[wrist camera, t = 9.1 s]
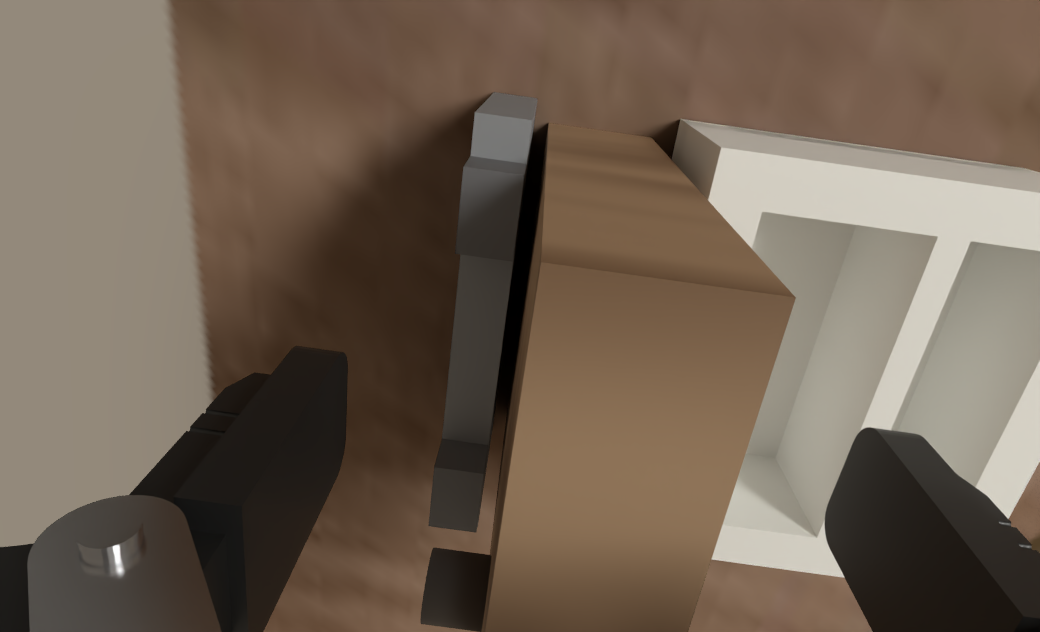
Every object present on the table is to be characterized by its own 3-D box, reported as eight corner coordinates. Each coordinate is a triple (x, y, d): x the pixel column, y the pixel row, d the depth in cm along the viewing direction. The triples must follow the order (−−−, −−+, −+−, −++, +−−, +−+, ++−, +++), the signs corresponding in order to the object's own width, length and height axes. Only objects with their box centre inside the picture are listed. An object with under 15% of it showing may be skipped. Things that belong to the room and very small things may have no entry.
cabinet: (494, 92, 15) (468, 119, 10) (1024, 168, 15) (1228, 228, 11) (457, 424, 19) (425, 553, 14) (886, 483, 19) (994, 630, 14)
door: (505, 116, 15) (433, 248, 6) (651, 137, 15) (796, 297, 6) (471, 410, 18) (390, 784, 9) (591, 426, 19) (627, 816, 9)
